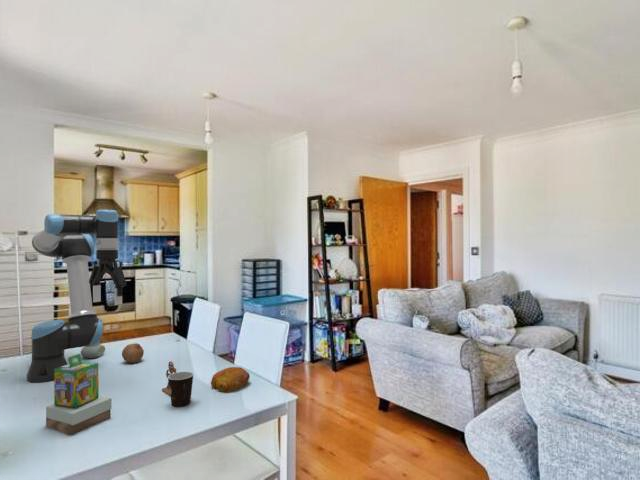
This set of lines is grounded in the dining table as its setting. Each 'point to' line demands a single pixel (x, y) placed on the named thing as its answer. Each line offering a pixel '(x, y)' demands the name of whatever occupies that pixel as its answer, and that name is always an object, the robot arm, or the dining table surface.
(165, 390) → the brown scrollwork ornament
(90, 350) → the grey rounded lump
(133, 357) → the onion
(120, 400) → the dining table surface
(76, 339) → the robot arm
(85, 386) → the chalk box
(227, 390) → the potato
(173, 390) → the coffee mug
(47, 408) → the grey-green top slab
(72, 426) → the walnut base slab
